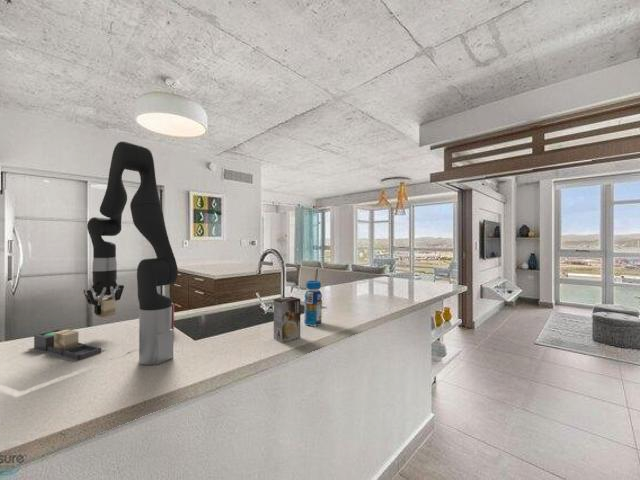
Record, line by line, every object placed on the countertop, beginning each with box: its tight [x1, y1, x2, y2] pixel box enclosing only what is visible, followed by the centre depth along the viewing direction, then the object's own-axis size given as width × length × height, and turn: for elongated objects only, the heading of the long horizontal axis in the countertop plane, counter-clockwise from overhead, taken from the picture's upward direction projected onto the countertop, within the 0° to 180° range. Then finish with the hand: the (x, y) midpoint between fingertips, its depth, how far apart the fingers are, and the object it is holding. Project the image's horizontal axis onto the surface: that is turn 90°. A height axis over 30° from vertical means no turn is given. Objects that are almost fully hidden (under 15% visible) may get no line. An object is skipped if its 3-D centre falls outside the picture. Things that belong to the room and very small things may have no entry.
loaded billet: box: [54, 329, 79, 350], centre depth 99 cm, size 6×4×6 cm, turn 68°
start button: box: [44, 332, 55, 337], centre depth 102 cm, size 4×4×3 cm
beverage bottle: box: [303, 280, 323, 327], centre depth 136 cm, size 8×8×20 cm
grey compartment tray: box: [27, 328, 107, 363], centre depth 99 cm, size 25×10×6 cm, turn 68°
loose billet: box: [93, 297, 116, 318], centre depth 112 cm, size 6×4×6 cm, turn 68°
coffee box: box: [273, 296, 301, 343], centre depth 116 cm, size 9×6×16 cm
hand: (104, 313), depth 112 cm, fingers closed on loose billet, 4 cm apart
